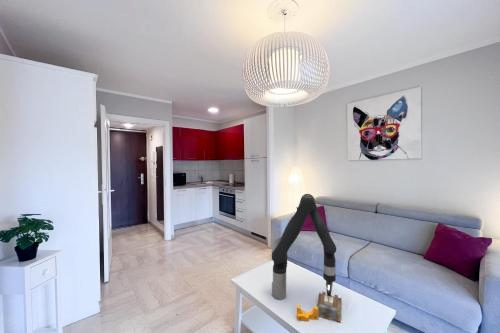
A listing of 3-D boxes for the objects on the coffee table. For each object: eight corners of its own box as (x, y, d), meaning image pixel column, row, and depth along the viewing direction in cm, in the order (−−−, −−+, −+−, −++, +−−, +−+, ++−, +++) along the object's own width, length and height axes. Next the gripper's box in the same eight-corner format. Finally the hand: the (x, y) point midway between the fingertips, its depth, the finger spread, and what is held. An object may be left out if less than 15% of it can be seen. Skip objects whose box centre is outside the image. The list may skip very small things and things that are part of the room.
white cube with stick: (324, 310, 130) (324, 296, 130) (324, 304, 135) (324, 291, 135) (332, 312, 128) (332, 298, 128) (333, 306, 133) (333, 293, 133)
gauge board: (315, 315, 127) (315, 305, 127) (319, 294, 147) (319, 285, 147) (340, 323, 122) (340, 312, 121) (341, 300, 142) (341, 290, 141)
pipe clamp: (297, 321, 123) (297, 310, 123) (296, 315, 128) (296, 305, 128) (318, 322, 122) (318, 311, 122) (316, 316, 127) (316, 306, 127)
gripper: (324, 266, 143) (323, 291, 144) (322, 275, 131) (321, 303, 132) (336, 268, 140) (335, 294, 141) (335, 278, 128) (334, 306, 129)
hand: (329, 298), depth 136 cm, fingers closed
